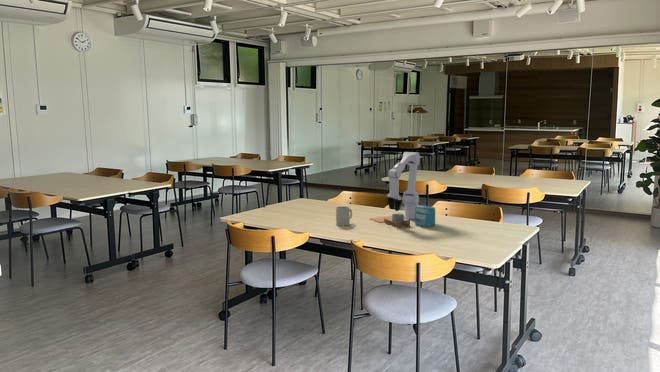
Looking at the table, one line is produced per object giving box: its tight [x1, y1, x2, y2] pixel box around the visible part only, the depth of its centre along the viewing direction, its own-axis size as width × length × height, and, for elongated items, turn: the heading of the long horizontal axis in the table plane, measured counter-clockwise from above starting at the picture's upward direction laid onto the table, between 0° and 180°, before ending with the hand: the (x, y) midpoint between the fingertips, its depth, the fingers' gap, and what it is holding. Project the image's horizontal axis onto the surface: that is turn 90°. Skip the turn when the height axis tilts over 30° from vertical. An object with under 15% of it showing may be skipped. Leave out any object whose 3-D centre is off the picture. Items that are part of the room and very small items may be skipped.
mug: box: [335, 205, 353, 227], centre depth 331 cm, size 12×8×11 cm
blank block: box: [391, 212, 405, 223], centre depth 327 cm, size 6×4×7 cm, turn 112°
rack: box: [383, 219, 411, 228], centre depth 328 cm, size 10×16×4 cm, turn 22°
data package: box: [414, 205, 436, 228], centre depth 323 cm, size 12×4×12 cm, turn 49°
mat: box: [369, 215, 392, 224], centre depth 343 cm, size 16×13×1 cm
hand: (394, 209), depth 327 cm, fingers open, 7 cm apart
